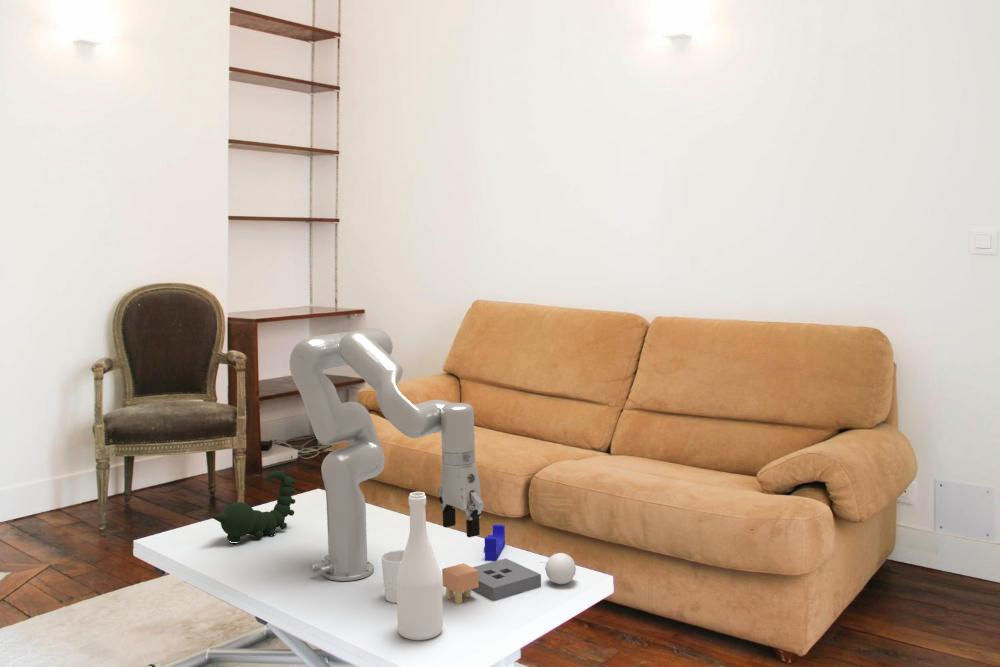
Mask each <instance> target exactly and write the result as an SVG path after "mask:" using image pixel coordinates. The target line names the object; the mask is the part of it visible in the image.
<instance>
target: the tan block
mask: <svg viewBox="0 0 1000 667" xmlns="http://www.w3.org/2000/svg"><path fill="white" fill-rule="evenodd" d="M472 567H473V566H471V565H469V564H467V563H460V564H459V563H458V564H456V565H452V566H449V567H448V566H447V567H445V568H442V570H441V571H442V572H441V576H442V587H444V588H445V590H446V591H445V593H446V599H449V600H450V599H454V603H455V604H462V603H463V597H465V598H470V597H471V595H472V593H471V592H472V589H474V588H478V587H479V578H478V570H477V569H475V568H472Z"/></svg>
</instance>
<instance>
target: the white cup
mask: <svg viewBox="0 0 1000 667" xmlns="http://www.w3.org/2000/svg"><path fill="white" fill-rule="evenodd" d="M404 552H405V549H404V550H402V549H401V550H392V551H391V550H390V551H388V552H385V553H384V554H382V555H381V565H382V566H381V568H382V579H383V580H382V581H383V588H384V598H385V600H386V602H389V603H393V604H394V603H395V604H397V575H398V571H399V567H400V564H401V561H402V558H403V555H404Z"/></svg>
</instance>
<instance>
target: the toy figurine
mask: <svg viewBox="0 0 1000 667" xmlns="http://www.w3.org/2000/svg"><path fill="white" fill-rule="evenodd" d="M271 479H276V480H278V481H280V487H279V489H278V493H279V495H278V496H277V498H276V503H275V505H274V507H273V509H272V510H270V511H263V512H262V511H261V510H258V509H257V510H256V509H254V508H253V507H252V506H251V505H249V504H248V503H246V502H241V501H237V502H233V503H231V504H229V505H228V506H226V507H225V508H224V509H223V511H222V512H221V513H218V514H216V515H213V516H211V517H212V519H213V520H215V521H216V522H219V523H220V527H221V529H222V531H223V532H224V533H226V534H227V537H226V539H227V541H228V540H229V541H231V542H238V541H240V542H241V539H242V537H245V536H248V535H247V534H250V535H249V536H251V535H253V538H255V539H257V538H259V539H262V538H263V536H264V533H268V536H269V535H274V534H275V535H276V533H277V531H276V529H277V528H280V529H281V530H286V529H287V527H288V525H287V522H285V520H286V518H287V517H288V516H290V517H291V516H294V515H295V511H294V509H291V505H294V504H295V503H296V499H294V498H292V495H293V494H296V488H293V485H295V484H296V480H295V479H293V478H292V477H290V476H286V474H285V472H284V471H282V470H274V471H271V472H270V473H269V474H267V477H266V481H268V482H269V481H270V480H271ZM275 535H274V536H275ZM229 541H228V542H229Z"/></svg>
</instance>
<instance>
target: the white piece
mask: <svg viewBox="0 0 1000 667" xmlns="http://www.w3.org/2000/svg"><path fill="white" fill-rule="evenodd" d="M540 563H543V564H544V562H541V561H540ZM576 568H577V567H576V562H575V561H574V559H573V558H572V557H571V556H570V555H569V554H567V553H564V552H558V553H554V554H552V555H551V556H550V557H548V559H547V561H546V562H545V567H544V570H545V574H546V576H547V578H548V579H549V580H550V581H551V583H554V584H557V585H565V584H568V583H570V582H571V581H572V580H573V579H574V577H575V575H576V571H577V569H576Z"/></svg>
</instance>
